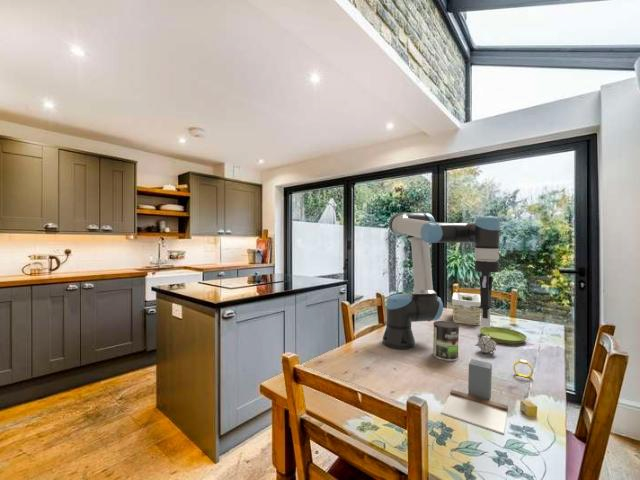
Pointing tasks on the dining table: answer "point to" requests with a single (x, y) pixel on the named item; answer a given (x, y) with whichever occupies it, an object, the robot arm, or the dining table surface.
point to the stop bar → (479, 400)
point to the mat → (475, 413)
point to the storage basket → (466, 308)
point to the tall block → (480, 379)
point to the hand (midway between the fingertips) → (485, 326)
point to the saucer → (503, 335)
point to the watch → (523, 363)
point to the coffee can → (446, 340)
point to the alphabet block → (528, 408)
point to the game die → (486, 344)
